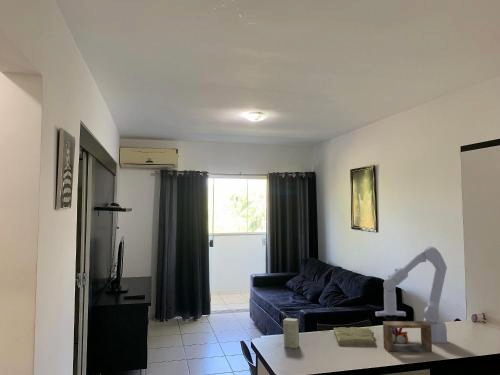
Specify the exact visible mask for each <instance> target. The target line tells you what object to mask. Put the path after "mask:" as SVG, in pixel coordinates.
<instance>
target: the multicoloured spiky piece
mask: <svg viewBox="0 0 500 375" xmlns="http://www.w3.org/2000/svg"><path fill="white" fill-rule="evenodd" d="M392 334H393V344H394V343H395V342H397V344H406V342H408V341H409V337H408V332H407V331H403V328H394V329H392Z"/></svg>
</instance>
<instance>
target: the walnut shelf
mask: <svg viewBox="0 0 500 375" xmlns="http://www.w3.org/2000/svg"><path fill="white" fill-rule="evenodd" d="M392 328H397V329H400V328H402V329H420V343H415V344H408V343H407V344H406V343H404V344H399V343H397V344H396V343H395V344H394V343H393V334H392ZM382 331H383V333H382V334H383V335H382V336H383V348H384V350H386V352H387V353H388V354H389V353H391V354H392V353H398V354H399V353H402V354H403V353H411V354H412V353H414V354H416V353H424V354H425V353H431V354H432V353H433V346H432V345H433V343H432V337H431V325H430V324H428V323H427V322H425V321H424V320H423V321H421V320H418V321H417V320H416V321H415V320H413V321H411V320H410V321H409V320H405V321H402V320H401V321H400V320H399V321H398V320H397V321H386V320H385V321H382Z"/></svg>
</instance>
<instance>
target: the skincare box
mask: <svg viewBox="0 0 500 375" xmlns="http://www.w3.org/2000/svg"><path fill="white" fill-rule="evenodd" d="M282 323H283V324H282V325H283V347H284V348H291V349H298V348H299V347H300V332H299V331H300V328H299V319H298V318H291V317H286V318H284V319H283V320H282Z"/></svg>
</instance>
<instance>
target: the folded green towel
mask: <svg viewBox="0 0 500 375" xmlns="http://www.w3.org/2000/svg"><path fill="white" fill-rule="evenodd" d="M333 333H334V337H335V339H336V342H337V345H338V346H342V347H344V346H345V347H346V346H347V347H348V346H349V347H376V346H377V342H376V341H375V338H374V336H375V332H374V331H373V330H372V329H370V328H368V327H367V328H366V327H357V326H356V327H355V326H350V327H345V326H342V327H341V326H340V327H333Z"/></svg>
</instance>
